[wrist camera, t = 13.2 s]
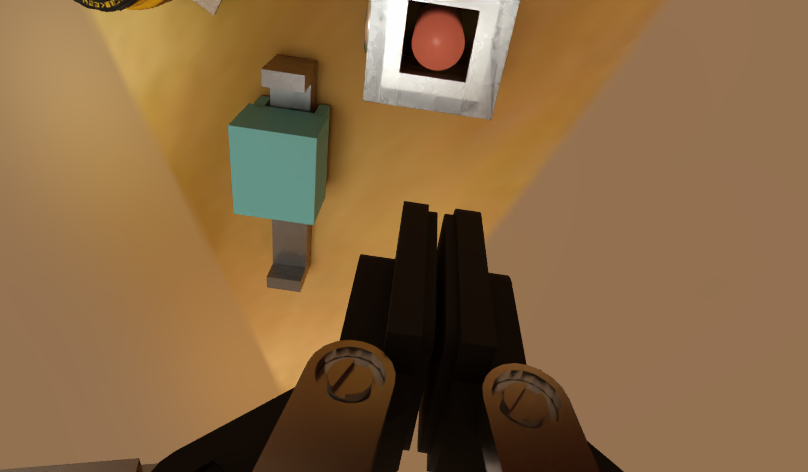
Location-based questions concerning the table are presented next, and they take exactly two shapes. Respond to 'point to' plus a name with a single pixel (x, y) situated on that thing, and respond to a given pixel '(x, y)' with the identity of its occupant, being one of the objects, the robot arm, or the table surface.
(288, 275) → the rail
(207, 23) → the table surface
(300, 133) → the carriage
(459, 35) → the cylinder
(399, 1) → the frame
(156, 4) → the condiment
